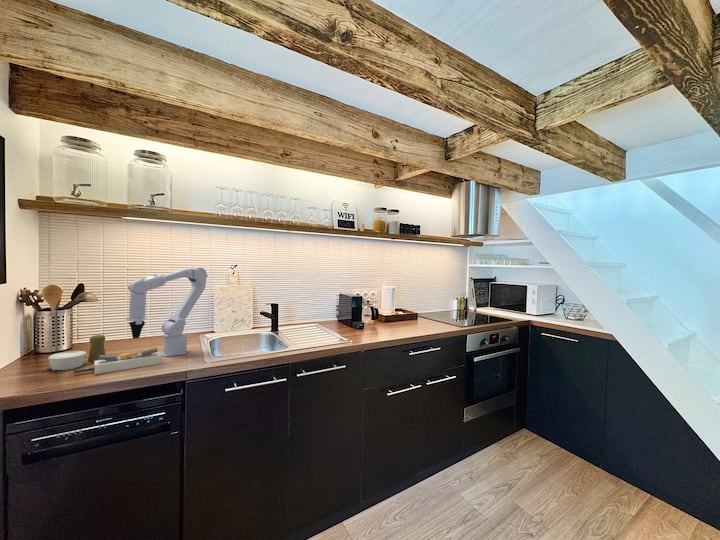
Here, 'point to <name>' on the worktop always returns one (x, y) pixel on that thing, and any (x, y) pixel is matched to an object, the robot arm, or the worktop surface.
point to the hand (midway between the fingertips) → (135, 338)
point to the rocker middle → (129, 354)
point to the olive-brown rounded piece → (96, 347)
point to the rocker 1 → (108, 357)
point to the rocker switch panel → (124, 363)
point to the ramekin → (67, 360)
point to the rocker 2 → (149, 352)
